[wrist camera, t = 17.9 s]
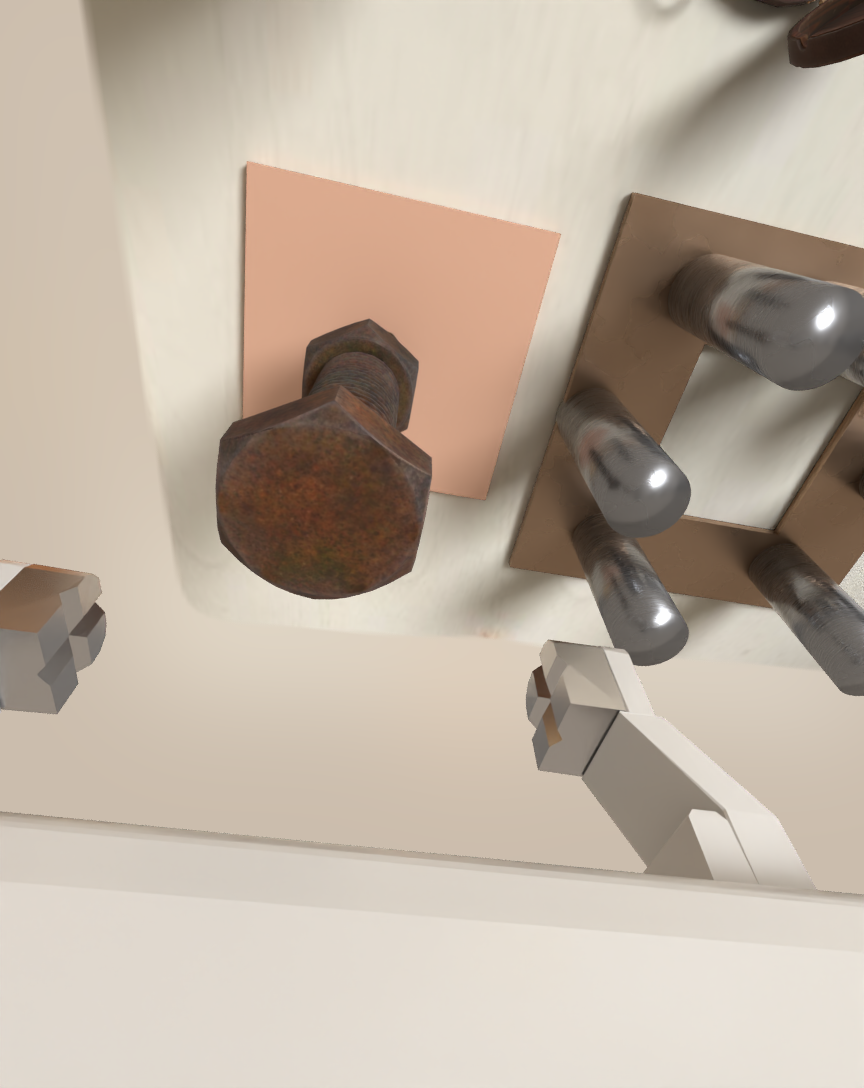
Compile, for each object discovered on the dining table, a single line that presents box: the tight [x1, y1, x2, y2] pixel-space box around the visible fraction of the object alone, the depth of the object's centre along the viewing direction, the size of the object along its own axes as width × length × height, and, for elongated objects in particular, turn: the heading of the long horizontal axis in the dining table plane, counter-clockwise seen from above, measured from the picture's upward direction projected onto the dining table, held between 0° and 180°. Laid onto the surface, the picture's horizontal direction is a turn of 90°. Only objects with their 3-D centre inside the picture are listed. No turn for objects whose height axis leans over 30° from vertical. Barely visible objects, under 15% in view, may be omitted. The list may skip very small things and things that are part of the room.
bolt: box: [216, 319, 432, 599], centre depth 20 cm, size 6×5×15 cm
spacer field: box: [509, 193, 864, 696], centre depth 26 cm, size 20×19×9 cm
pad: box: [243, 161, 561, 500], centre depth 27 cm, size 13×13×1 cm
